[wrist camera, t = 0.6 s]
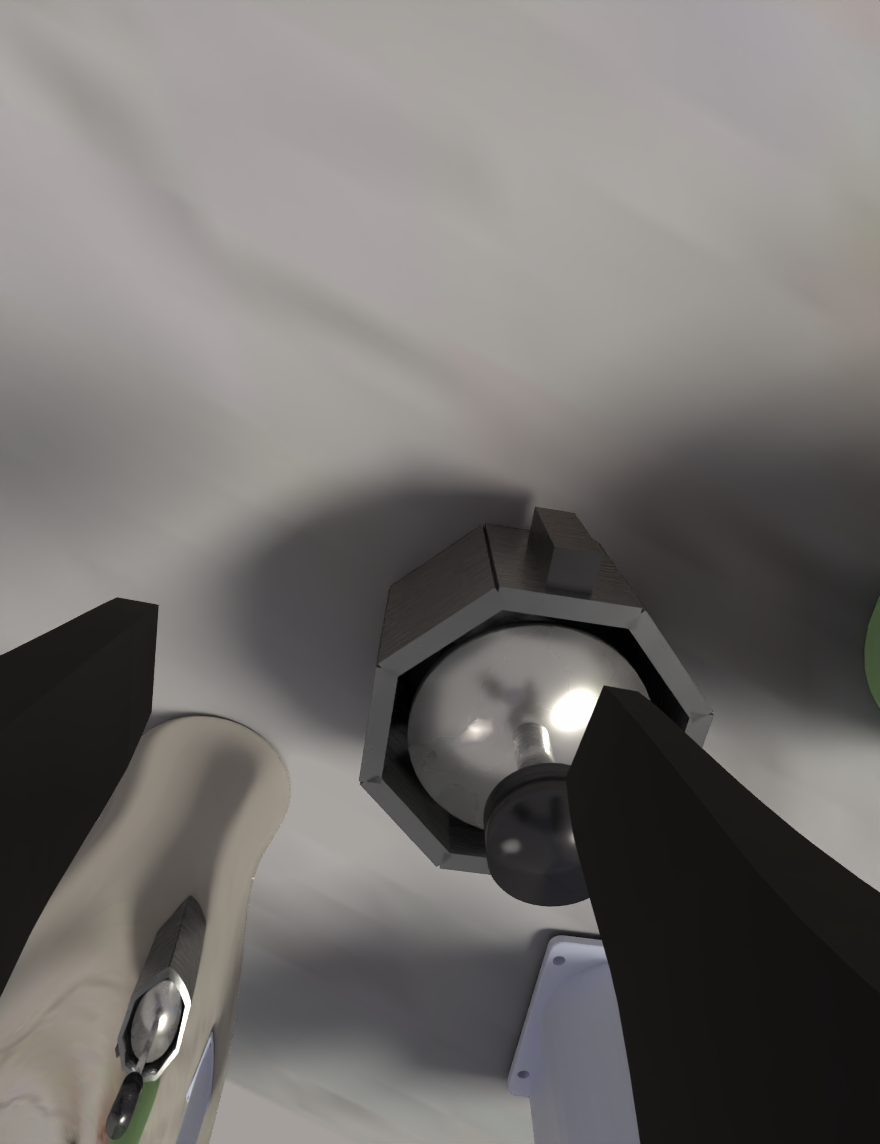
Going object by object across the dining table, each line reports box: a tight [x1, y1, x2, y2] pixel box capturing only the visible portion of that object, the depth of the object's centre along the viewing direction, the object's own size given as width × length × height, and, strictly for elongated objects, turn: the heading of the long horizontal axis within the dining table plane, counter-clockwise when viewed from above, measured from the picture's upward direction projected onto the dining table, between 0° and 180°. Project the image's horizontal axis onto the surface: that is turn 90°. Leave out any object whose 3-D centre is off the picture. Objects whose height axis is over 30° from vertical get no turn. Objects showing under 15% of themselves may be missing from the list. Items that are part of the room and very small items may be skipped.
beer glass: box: [0, 716, 291, 1144], centre depth 18 cm, size 7×7×15 cm
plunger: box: [407, 620, 650, 906], centre depth 17 cm, size 7×7×5 cm
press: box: [359, 507, 714, 875], centre depth 21 cm, size 10×9×5 cm
